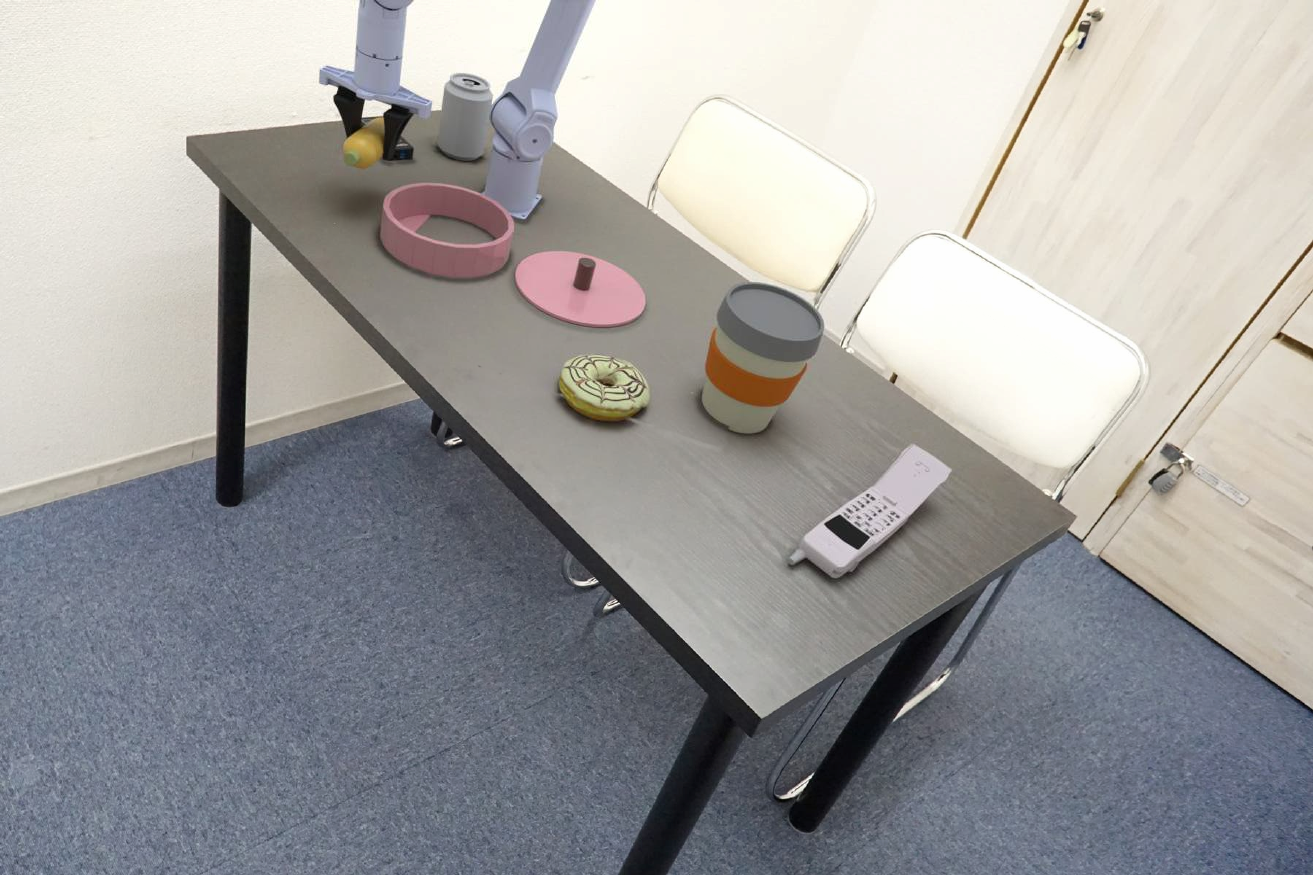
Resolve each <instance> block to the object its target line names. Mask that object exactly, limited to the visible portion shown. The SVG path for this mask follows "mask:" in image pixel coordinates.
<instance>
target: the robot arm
mask: <svg viewBox="0 0 1313 875" xmlns="http://www.w3.org/2000/svg"><path fill="white" fill-rule="evenodd" d="M414 1H415V0H359V3H358V10H357V22H356V24H357V25H356V39H355V52H354V53H355V54H354V66H353V70H348V69H343V68H339V67H335V66H331V65H328V64H325V65H324V66H322V67H321V68H319V72H318V73H319V75H318V83H319V84H320V85H323V86H329V85H330V86H332V87H335V88H337V90H336V93H335V94H333V97H332V99H333V100H332V102H333V103H334V105H335V107H336V108H337V110H338V113H339V115H340V118H341V122H342V124H343V127H344V132H345V136H346V140H347V139H348V138H349V137H350V136H351V135H353V134H354V133H355V132H357V131H358V130H359V129H361V120H362V117H363V113H364V108H365V102H366V101H368V102H371V101H376V102H379V103H383V104H385V105H388V106H390V108H388V109H387V110H385V111H384V112H383V115H382V118H384V131H385V137H384V146H383V157H382V160H385V161H388V160H389V159H391V158H392V157H393V156H394V152H395V149H396V146H397V143H398V141H399V138H400V136H402V134H403V133H404V131H405V128H406V127H407V125H408V124H409V122H410V120H411V119H412V117H413V116H414V115H417V117H418V118H419V119H422V120H426V119H428V118H429V117H430V116H431V115H432V109H433V108H432V106H433V100H431V99H428V98H425V97H423V96H421V95H420V94H417V93H415V92H413V91H411V90H410V89H407V88H406V87H403V86H402V85H400V84H401V77H402V76H401V74H402V65H403V57H404V56H403V54H404V44H405V34H406V25H407V12H408V7H410V5H411V4H412V3H414ZM596 1H597V0H550V1H549V3H548V6H547V8H546V11H545V14H544V15H543V18H542V21H541V23H540V26H539V28H538V30H537V33H536V35H535V38H534V40H533V42H532V45H531V47H530V50H529V52H528V55H527V57H526V60H525V63H524V65H523V67H522V69H521V72H520V73H519V76H517V77H516V78H513V79H511V80H509V81H508V82H507V83H506V85H505V87H504V89H503V90H502V92H501V94H500V95H499V96H498V97H497V98H496V99H495V100H494V101H492V104H491V108H490V112H489V122H490V125H491V127H492V128H493V129H494V133H493V139H492V144H491V150H490V157H489V162H488V168H487V174H486V181H485V186H484V190H483V191H482V192H481V194H483V195H485V196H487V197H489V198H491V199H493V200H495V201H496V202H498V203H499V204H500V205H501V206H502V207H504V208H505V209H506V210H507V211H508V212H509V214H510V216H511V217H515V218H518V219H520V220H526V219H527V217H528V216H529V215H530V214H531V212H532V211H533V210H534V208H535V207H536V206H537V205H538V203H539V201H540V200H541V199H542V198H543V196H542V195H541V194H538V193H537V192H538V187H539V181H540V176H541V172H542V166H543V163H544V162H543V161H544V158H543V157H544V156H545V155H546V154H548V152H549V151H550V150H551V148H552V146H553V143H554V139H555V132H554V130H555V125H556V123H557V120H558V117H559V115H558V108H557V102H556V93H557V92H558V88H559V86H560V84H561V81H562V80H563V77H564V75H565V73H566V70H567V68H568V66H569V63H570V61H571V59H572V57H573V54H574V51H575V50H576V47H577V45H578V42H579V41H580V38H581V36H582V33H583V31H584V28H585V26H586V24H587V21H588V20H589V17H590V15H591V13H592V11H593V8H594V5H595V3H596ZM388 162H389V161H388Z"/></svg>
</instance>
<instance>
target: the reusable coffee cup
mask: <svg viewBox="0 0 1313 875" xmlns="http://www.w3.org/2000/svg"><path fill="white" fill-rule="evenodd" d="M716 321H717V324H716V327H715V328H714V329H713V330H712V333H711V336H710V341H709V346H708V350H707V355H706V360H705V363H704V371H705V374H706V375H705V380H704V385H703V390H702V393H701V394H702V395H701V402H702V405H703V408H704V409H705V411H707V413H708V414H709V415H710V416H711V417H712V418H713V419H715V420H716V421H718V422H719V423H721V424H723V425H725V426H727V428H728V431H731V432H735V433H739V434H748V435H749V434H756V433H760V432H762V431H764V430H765V429H766V428H767V427H768V425H769V423H770V422H771V420H772V419H773V417H774V416H775V415H776V413H777V411H778V409H779V408H780V406H781V405H782V404H784V403H785V402H787V401H788V400H789V398H790V397H791V395H792V393H793V392H794V390H795V388H796V387H797V385H798V384H799V382H800V380H801V379H802V378H803V376H804V375H805V373H806V371H807V368H808V361H809V360H810V359H811V358H813V357H814V356H816V354H817V352H818V350H819V347H820V343H821V340H822V337H823V334H824V330H825V322H824V319H823V316H822V315H821V313H820V312H819V310H818V309H817V308H816V307H815V306H814V305H813V304H812V303H810V302H809V301H808V300H806V299H805V298H803V297H802V296H800V295H798V294H797V293H795V292H793V291H790V290H788V289H786V288H782V287H781V286H778V285H773V284H770V283H766V282H757V281H747V282H740V283H737V284H735V285H733V286H731V287H730V288H729V289H728V290H727V291H726V294H725V295H724V298H723V300H722V301H721V304H720V305H719V308H718V310H717V312H716Z"/></svg>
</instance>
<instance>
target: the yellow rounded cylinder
mask: <svg viewBox="0 0 1313 875" xmlns="http://www.w3.org/2000/svg"><path fill="white" fill-rule="evenodd" d="M384 137H385V131H384V118H383V117H381V118H376V119H373V120H372V121H370V122H369V123H367V124H366V125H365V126H363V127H362V128H361V129H359V130H358V131H357V132H355V133H354V134H353V135H351V136H350V137H349V138H348V139H347V138H346V140H345V141H344V143H343V146H342V153H343V161H344V163H345V164H346V165H347V166H349V167H353V168H356V169H362V170H364V169H367V168H370V167H372V166H373V165H374V164H376V163H377V162H378V161H380V160H381V159H383V146H384Z"/></svg>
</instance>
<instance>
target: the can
mask: <svg viewBox="0 0 1313 875" xmlns="http://www.w3.org/2000/svg"><path fill="white" fill-rule="evenodd" d="M442 95H443V96H442V103H441V109H440V115H439V116H440V117H439V125H438V133H437V139H436V144H437V146H438V148H439V149H440V150H441V152H442V154H445V156H447V157H449V158H452V159H454V160H459V161H466V162H467V161H469V162H470V161H474V160H476V159H478V158H480V157H481V156H483V155H484V152H485V146H486V140H487V134H488V129H489V122H490V119H489V112H490V108H491V106H492V104H493V98H494V94H493V92H492V91H491V84H490V82H489V81H488V80H487V79H485V78H483V77H482V76H480V75H476V74H472V73H468V72H467V73H466V72H456V73H452V74H451V75H450V76H449V80H448V81H446V82H445V84H444V86H443V94H442Z"/></svg>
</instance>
